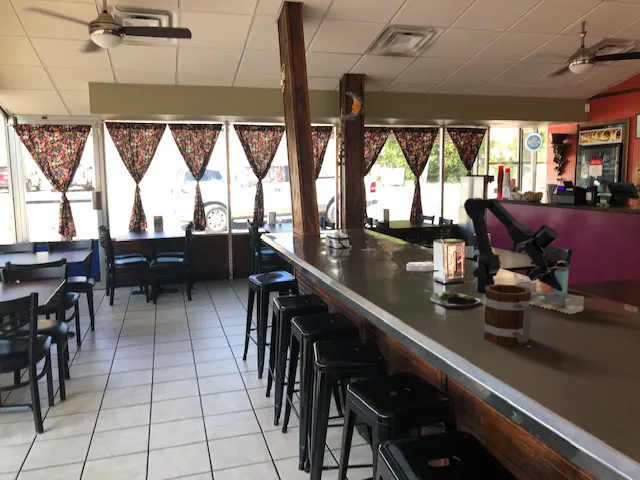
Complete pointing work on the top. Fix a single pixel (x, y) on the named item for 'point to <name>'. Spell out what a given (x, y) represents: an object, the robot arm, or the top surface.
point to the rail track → (570, 307)
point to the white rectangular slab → (420, 266)
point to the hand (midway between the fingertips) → (564, 290)
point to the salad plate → (455, 300)
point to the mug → (507, 314)
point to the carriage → (562, 278)
